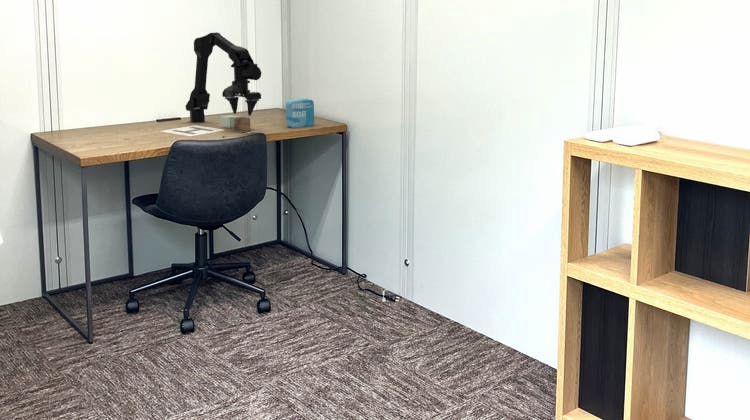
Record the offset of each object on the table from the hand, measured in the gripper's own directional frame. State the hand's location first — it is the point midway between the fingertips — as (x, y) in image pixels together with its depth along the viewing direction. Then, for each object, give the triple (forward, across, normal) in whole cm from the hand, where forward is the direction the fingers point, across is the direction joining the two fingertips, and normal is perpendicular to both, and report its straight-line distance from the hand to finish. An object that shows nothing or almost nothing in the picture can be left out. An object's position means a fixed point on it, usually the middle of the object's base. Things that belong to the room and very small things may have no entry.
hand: (242, 114), depth 398 cm
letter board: (+7, -14, -16) cm, 23 cm away
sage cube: (+8, -10, +2) cm, 13 cm away
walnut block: (+8, 0, 0) cm, 8 cm away
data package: (+8, +10, +26) cm, 29 cm away
